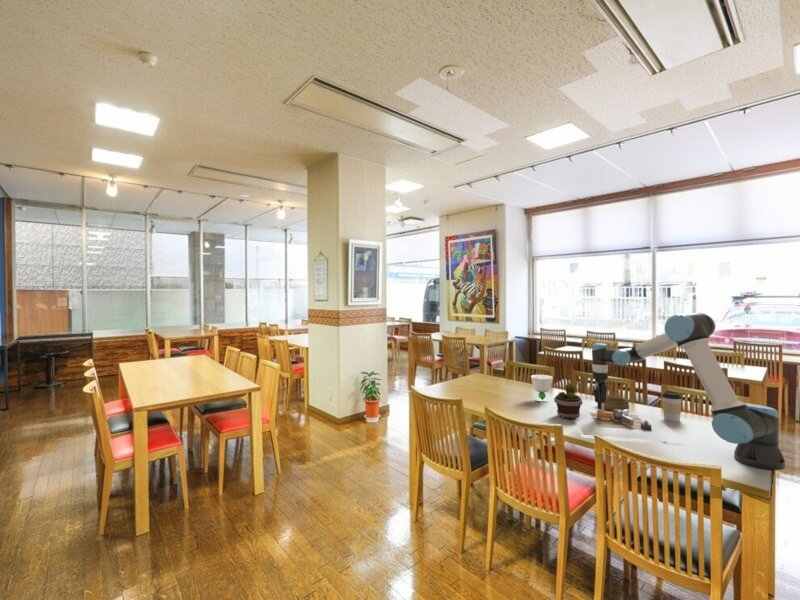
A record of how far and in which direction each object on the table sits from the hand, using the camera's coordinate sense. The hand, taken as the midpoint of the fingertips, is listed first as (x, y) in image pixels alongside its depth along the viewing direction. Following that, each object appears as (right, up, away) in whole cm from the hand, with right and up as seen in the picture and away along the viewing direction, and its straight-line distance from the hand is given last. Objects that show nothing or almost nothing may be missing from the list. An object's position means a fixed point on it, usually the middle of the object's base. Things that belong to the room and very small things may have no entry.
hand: (600, 414), depth 208 cm
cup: (-17, -4, +41) cm, 45 cm away
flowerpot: (-15, -4, +7) cm, 17 cm away
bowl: (+15, -3, +16) cm, 22 cm away
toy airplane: (+6, -3, -6) cm, 9 cm away
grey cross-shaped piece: (+4, -2, -5) cm, 7 cm away
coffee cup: (+38, -3, -2) cm, 38 cm away
